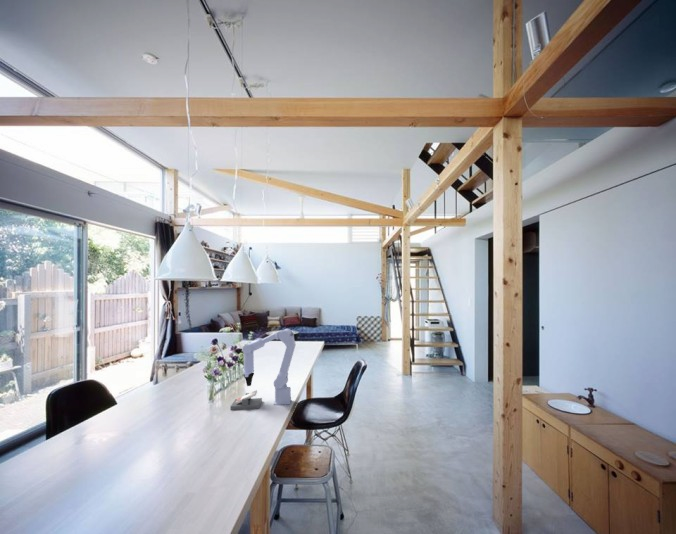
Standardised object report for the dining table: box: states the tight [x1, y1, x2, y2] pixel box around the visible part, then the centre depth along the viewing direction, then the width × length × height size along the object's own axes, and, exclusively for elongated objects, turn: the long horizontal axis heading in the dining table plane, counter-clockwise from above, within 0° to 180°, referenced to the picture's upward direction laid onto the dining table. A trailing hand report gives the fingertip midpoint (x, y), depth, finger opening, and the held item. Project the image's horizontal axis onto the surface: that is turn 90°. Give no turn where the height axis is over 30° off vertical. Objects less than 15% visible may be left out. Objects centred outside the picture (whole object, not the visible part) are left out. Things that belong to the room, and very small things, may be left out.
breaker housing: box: [230, 392, 263, 411], centre depth 189 cm, size 16×11×6 cm
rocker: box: [236, 389, 258, 404], centre depth 189 cm, size 12×6×1 cm, turn 94°
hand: (249, 385), depth 196 cm, fingers closed
